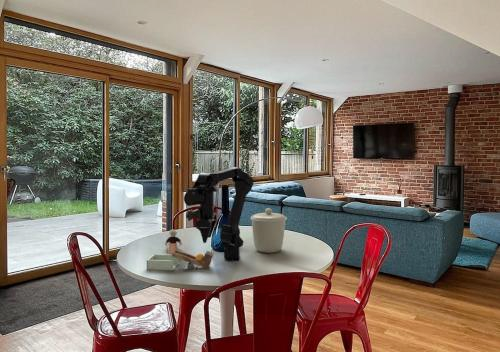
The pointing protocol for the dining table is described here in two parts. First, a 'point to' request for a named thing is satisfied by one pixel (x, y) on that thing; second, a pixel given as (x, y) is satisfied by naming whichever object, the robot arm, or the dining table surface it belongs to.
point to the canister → (268, 231)
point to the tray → (162, 262)
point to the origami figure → (168, 244)
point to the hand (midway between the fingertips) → (207, 240)
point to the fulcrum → (190, 267)
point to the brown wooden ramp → (194, 258)
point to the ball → (199, 257)
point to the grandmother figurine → (172, 241)
